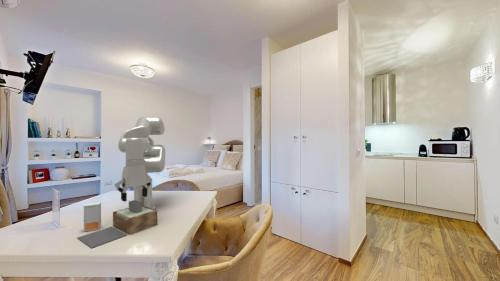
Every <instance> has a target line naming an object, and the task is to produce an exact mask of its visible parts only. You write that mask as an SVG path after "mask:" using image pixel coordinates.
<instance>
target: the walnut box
mask: <svg viewBox="0 0 500 281" xmlns="http://www.w3.org/2000/svg"><path fill="white" fill-rule="evenodd" d="M142 207H145V206H142ZM145 208H148V207H145ZM125 209H129V207H126V208H122V209H120V210H115V211H113V212H112V227H113V228H115V229H117V230H119V231H121V232H123V233H125V234H127V235H130V236H131V235H133V234H136V233H138V232H141V231H144V230H147V229H149V228H152V227H155V226H157V225H158V210H157V209H151V208H148V209H151V210H154V211H151V212H148V213H145V214H142V215H138V216H135V217H132V218H129V219H127V218H125V217H122V216H120V215H118V214H116V212H118V211H122V210H125Z"/></svg>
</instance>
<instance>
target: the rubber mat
mask: <svg viewBox="0 0 500 281" xmlns="http://www.w3.org/2000/svg"><path fill="white" fill-rule="evenodd" d="M126 236H128V234H127V233H125V232H123V231H121V230H119V229H117V228H115V227H113V226H109V227H106V228H103V229H98V230H95V231H93V232H90V233H87V234H84V235H81V236H78V237H76V239H77V240H78V241H80V242H81V243H83V244H84V245H86V246H87V247H88V248H90V249H94V248H97V247H100V246H102V245H104V244H107V243H110V242H113V241H115V240H118V239H122V238H123V237H126Z"/></svg>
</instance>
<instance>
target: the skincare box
mask: <svg viewBox="0 0 500 281" xmlns="http://www.w3.org/2000/svg"><path fill="white" fill-rule="evenodd" d="M101 226H102V201H95V202H88V203H87V202H86V203H85V204H84V205H83V232H84V233H85V232H89V231H99V230H101Z"/></svg>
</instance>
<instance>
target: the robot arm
mask: <svg viewBox="0 0 500 281" xmlns="http://www.w3.org/2000/svg"><path fill="white" fill-rule="evenodd" d="M164 134H165V124H164V122H163V119H162V118H160V117H158V116H142V117H139V118H138V119H137V122H136V124H135V127H133V128H130V129H128V130H126V131H125V132H123V133H122V134H121V136H120V138H119V141H118V144H117V145H118V146H117V148H118V150H119V151H120V152H121V153H125V166H123V167H122V172H121V179H120V180H119V181H117V182H116V183H114V187H115V189H116V190H117V191H118V192H120V200H121V202H127V200H128V196H127V195H128V194H127V190H128V189H132V188H133V200H135V201H139V202H142V206H145V207H148V208H151V209H154V210H156V206H155V205H153V178H152V176H150V175H149V173H151V174H152V173H161V172H163V171H164V170H165V164H166V148H165V146H164V145H162V144H155V141H154V140H153V138H152V137H150V136H162V135H164ZM120 185H121V186H120Z"/></svg>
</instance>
